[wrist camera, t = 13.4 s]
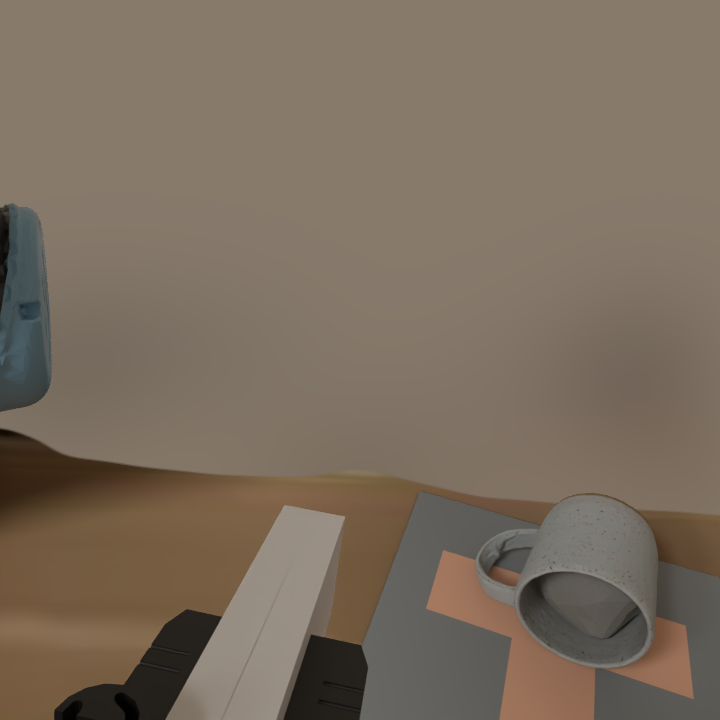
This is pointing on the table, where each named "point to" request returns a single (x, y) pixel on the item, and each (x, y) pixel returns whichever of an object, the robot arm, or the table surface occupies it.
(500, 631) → the t mat
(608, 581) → the ceramic mug
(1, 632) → the table surface
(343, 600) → the table surface
